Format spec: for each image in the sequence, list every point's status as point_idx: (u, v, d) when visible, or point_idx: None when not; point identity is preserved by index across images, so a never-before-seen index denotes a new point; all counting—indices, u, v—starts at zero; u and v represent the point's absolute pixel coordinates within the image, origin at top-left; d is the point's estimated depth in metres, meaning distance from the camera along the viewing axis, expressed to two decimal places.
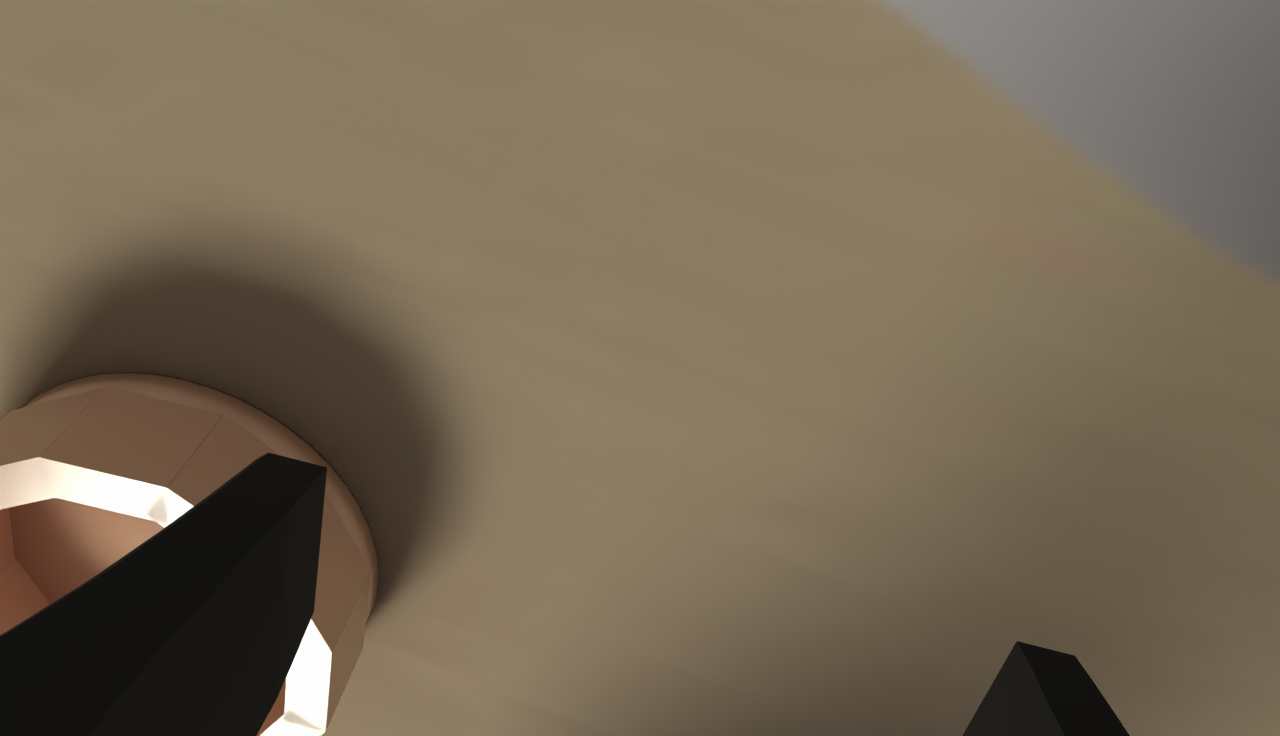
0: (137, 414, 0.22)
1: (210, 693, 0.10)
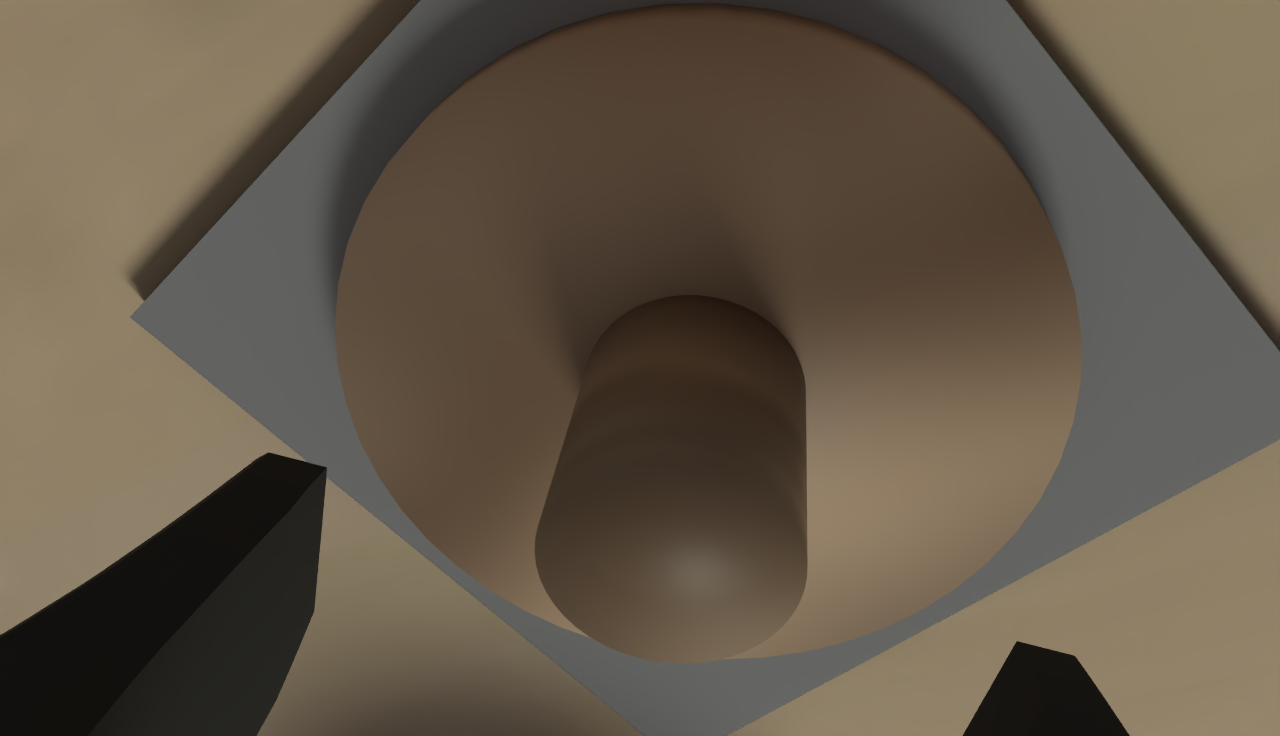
0: None
1: (210, 693, 0.10)
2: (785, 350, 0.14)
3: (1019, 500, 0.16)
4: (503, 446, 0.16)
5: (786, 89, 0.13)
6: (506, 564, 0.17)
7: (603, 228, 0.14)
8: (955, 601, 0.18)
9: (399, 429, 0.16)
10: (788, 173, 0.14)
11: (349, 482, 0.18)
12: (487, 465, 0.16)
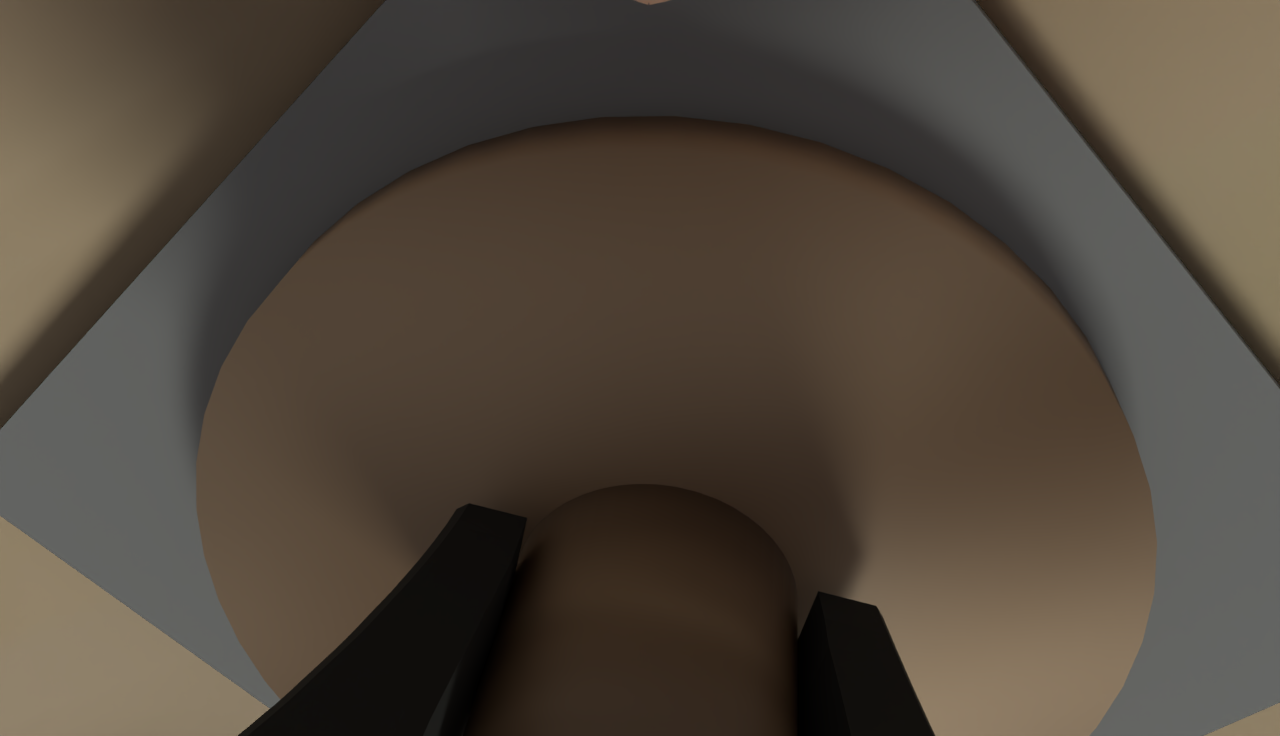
0: None
1: None
2: (770, 556, 0.11)
3: (1070, 727, 0.12)
4: None
5: (768, 237, 0.10)
6: None
7: (531, 403, 0.11)
8: None
9: (286, 629, 0.13)
10: (771, 340, 0.10)
11: (237, 671, 0.15)
12: None
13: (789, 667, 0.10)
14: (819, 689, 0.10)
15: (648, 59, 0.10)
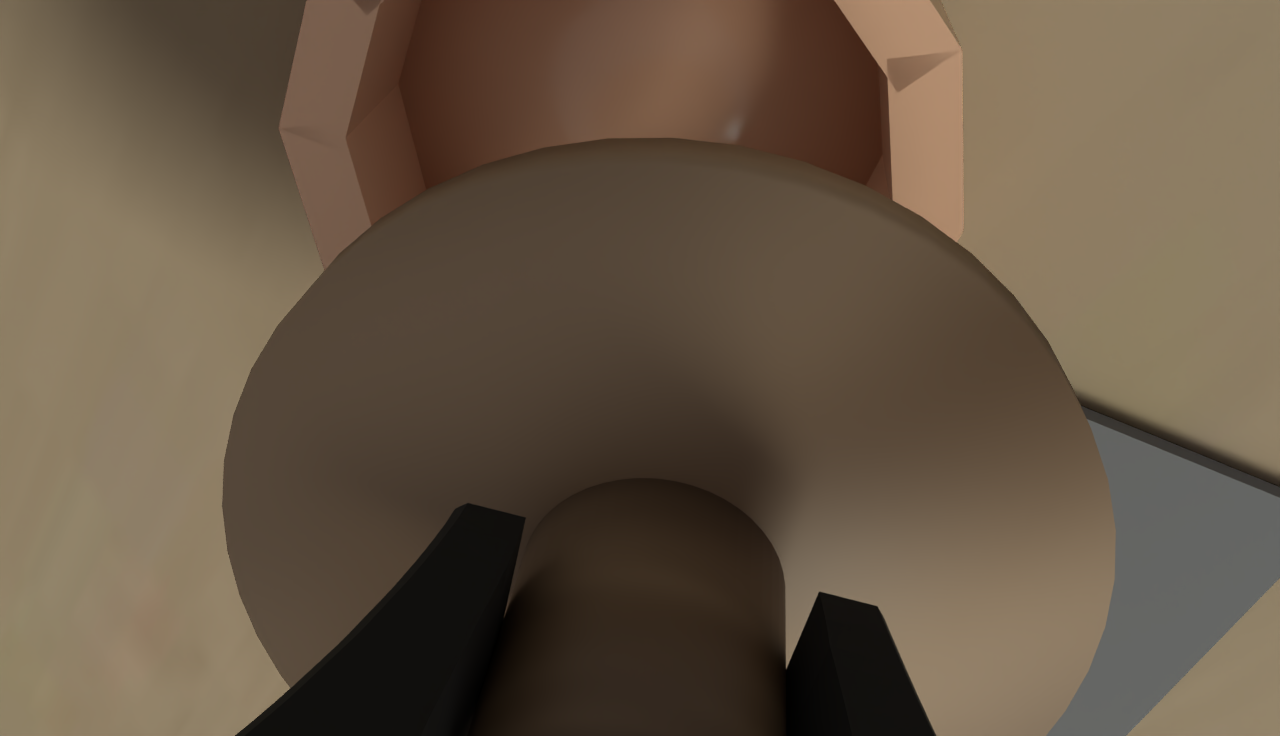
0: None
1: None
2: (748, 534, 0.12)
3: (1063, 673, 0.13)
4: None
5: (698, 234, 0.11)
6: None
7: (511, 414, 0.12)
8: (1130, 718, 0.23)
9: (322, 658, 0.14)
10: (717, 329, 0.11)
11: None
12: None
13: (771, 630, 0.11)
14: (820, 689, 0.10)
15: None
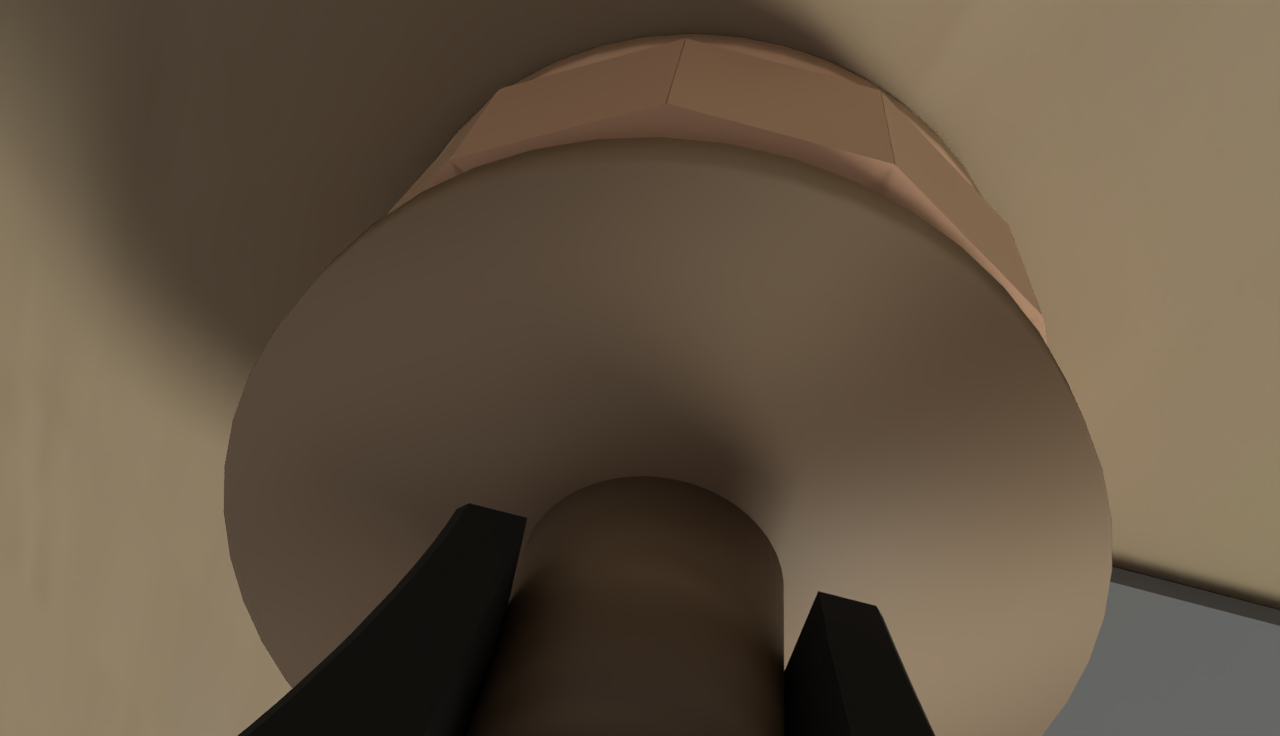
0: None
1: None
2: (744, 530, 0.12)
3: (1063, 664, 0.13)
4: None
5: (687, 232, 0.11)
6: None
7: (507, 415, 0.12)
8: None
9: None
10: (709, 326, 0.11)
11: None
12: None
13: (768, 624, 0.11)
14: (818, 689, 0.10)
15: None
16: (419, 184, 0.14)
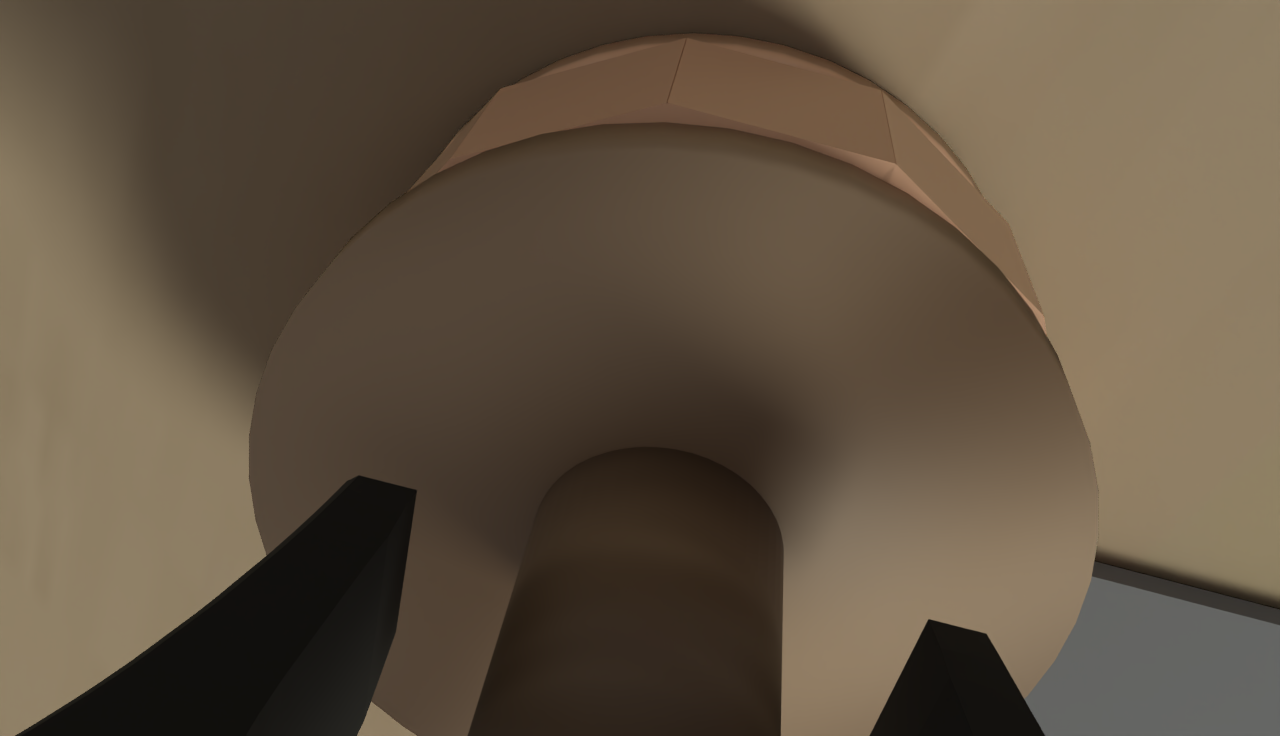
0: None
1: (315, 719, 0.10)
2: (745, 497, 0.13)
3: (1051, 625, 0.13)
4: (462, 624, 0.15)
5: (691, 215, 0.11)
6: None
7: (518, 388, 0.13)
8: None
9: None
10: (712, 305, 0.12)
11: None
12: (449, 646, 0.15)
13: (766, 589, 0.12)
14: (939, 719, 0.10)
15: None
16: (420, 183, 0.14)
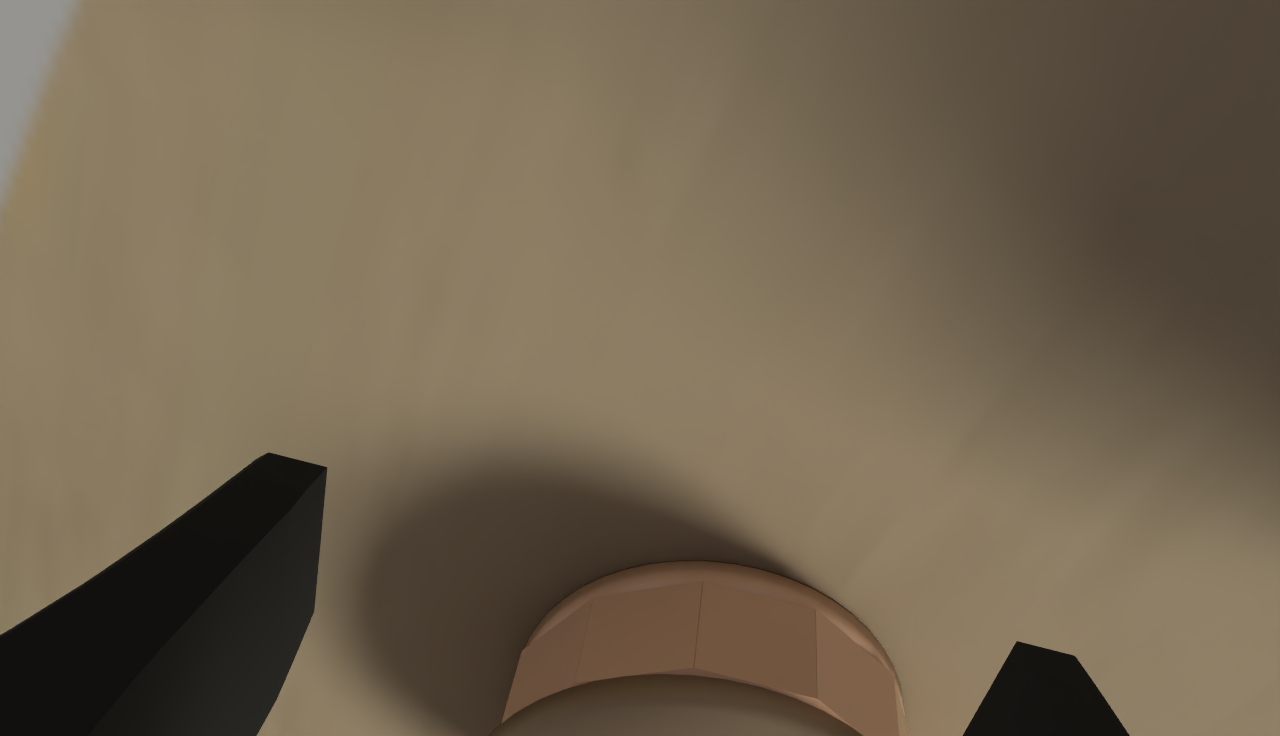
0: None
1: (210, 693, 0.09)
2: None
3: None
4: None
5: (707, 734, 0.21)
6: None
7: None
8: None
9: None
10: None
11: None
12: None
13: None
14: None
15: None
16: (549, 665, 0.23)
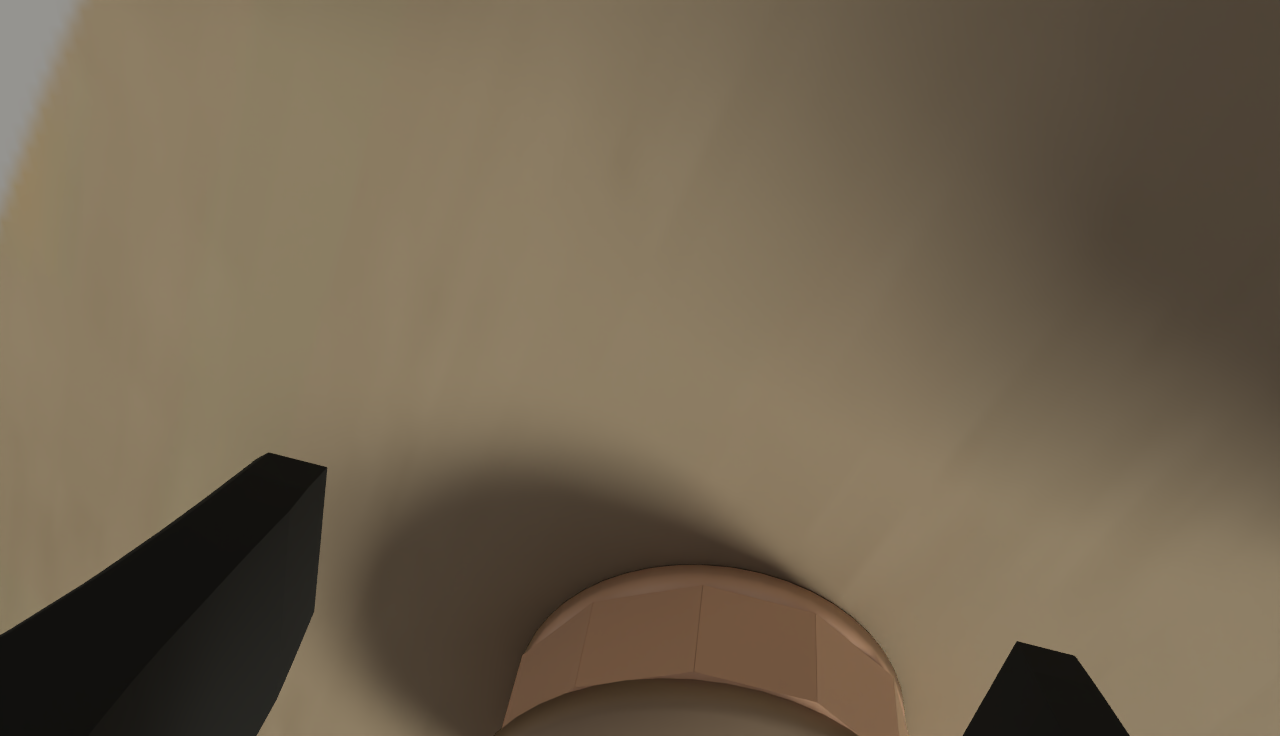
0: None
1: (210, 693, 0.09)
2: None
3: None
4: None
5: None
6: None
7: None
8: None
9: None
10: None
11: None
12: None
13: None
14: None
15: None
16: (549, 669, 0.23)
